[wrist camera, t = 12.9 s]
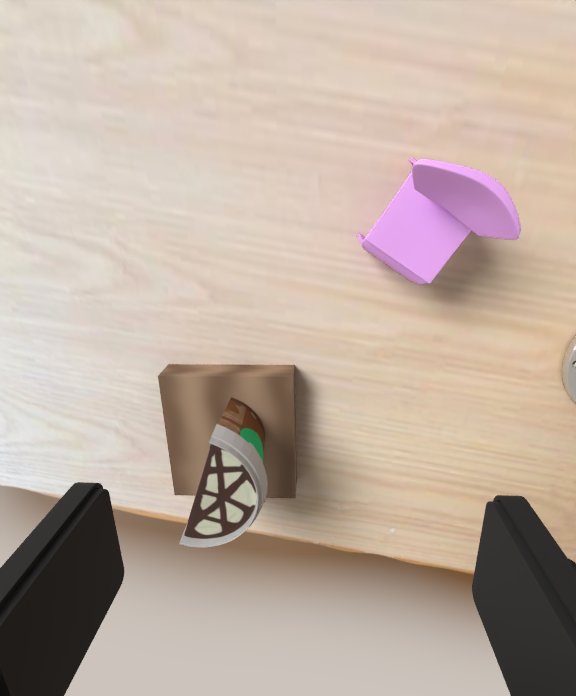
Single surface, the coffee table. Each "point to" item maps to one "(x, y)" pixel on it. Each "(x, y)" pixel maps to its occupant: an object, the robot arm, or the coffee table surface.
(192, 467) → the walnut block
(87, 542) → the robot arm
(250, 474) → the food container
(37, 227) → the coffee table surface
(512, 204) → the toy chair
